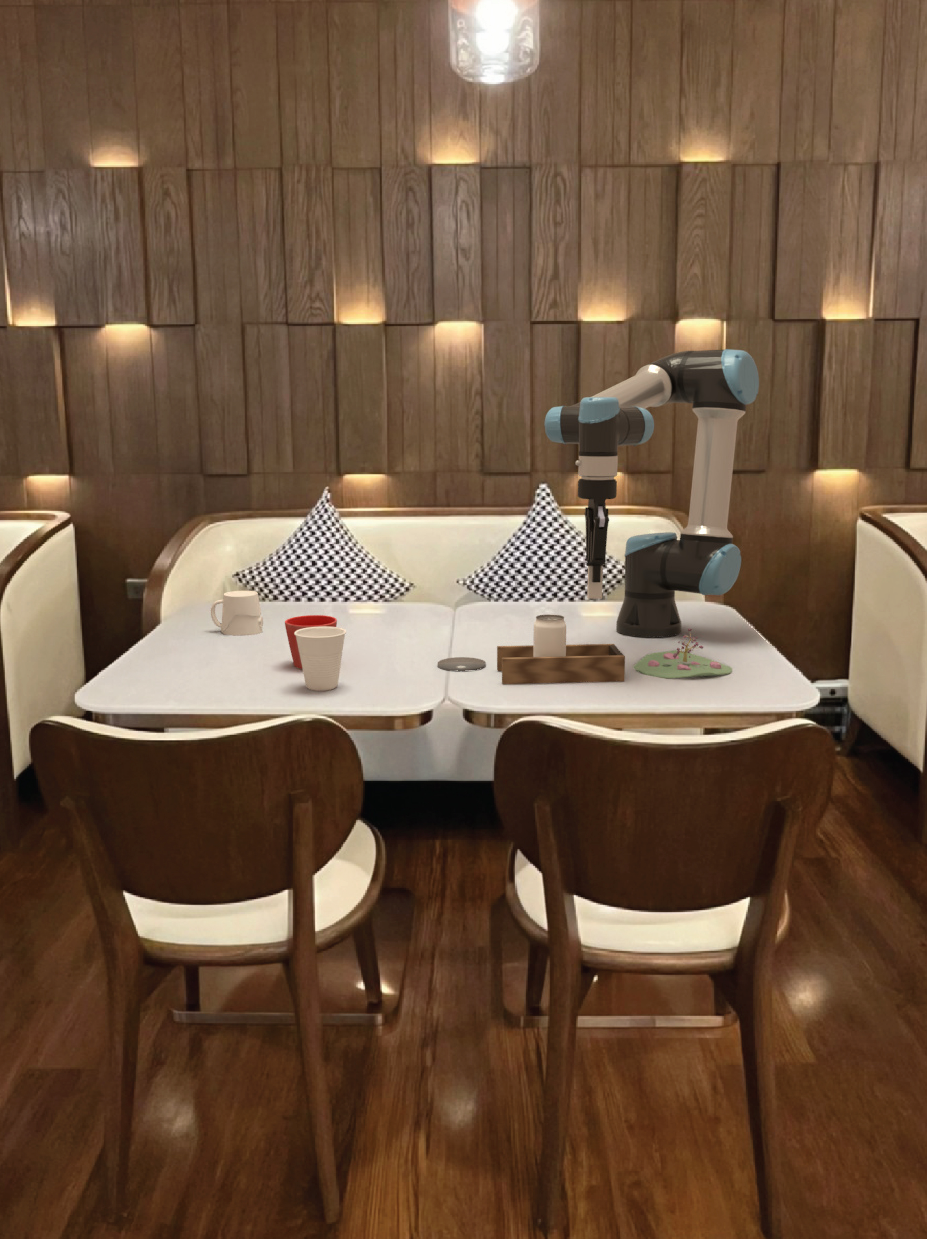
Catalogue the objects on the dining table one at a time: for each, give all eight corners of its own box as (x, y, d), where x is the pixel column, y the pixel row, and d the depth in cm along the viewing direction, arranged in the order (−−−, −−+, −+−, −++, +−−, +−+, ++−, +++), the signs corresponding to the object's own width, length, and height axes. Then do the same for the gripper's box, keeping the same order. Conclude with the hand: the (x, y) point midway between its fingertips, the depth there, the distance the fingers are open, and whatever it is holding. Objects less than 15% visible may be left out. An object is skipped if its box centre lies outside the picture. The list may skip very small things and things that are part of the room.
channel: (613, 667, 236) (613, 643, 235) (624, 681, 225) (624, 656, 224) (497, 669, 235) (497, 646, 234) (502, 684, 224) (502, 659, 223)
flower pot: (297, 674, 233) (295, 627, 231) (279, 663, 242) (277, 617, 240) (345, 668, 237) (344, 622, 236) (327, 657, 247) (325, 612, 245)
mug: (264, 590, 275) (256, 596, 267) (266, 628, 276) (258, 636, 269) (215, 590, 275) (205, 596, 267) (216, 628, 277) (207, 635, 269)
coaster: (483, 659, 244) (483, 656, 244) (487, 670, 234) (487, 668, 234) (436, 660, 243) (436, 657, 243) (438, 671, 234) (438, 669, 233)
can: (563, 680, 226) (564, 620, 224) (531, 679, 228) (531, 619, 225) (567, 672, 232) (568, 614, 230) (535, 671, 234) (536, 613, 231)
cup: (297, 681, 227) (295, 626, 225) (348, 680, 228) (346, 625, 225) (294, 694, 217) (292, 637, 215) (347, 693, 218) (345, 636, 216)
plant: (614, 655, 249) (615, 614, 248) (705, 652, 252) (707, 611, 250) (649, 684, 225) (650, 639, 223) (749, 680, 228) (751, 635, 226)
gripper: (572, 475, 229) (570, 592, 233) (583, 480, 216) (581, 604, 221) (610, 475, 229) (607, 592, 234) (623, 480, 217) (619, 603, 221)
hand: (594, 597), depth 227 cm, fingers closed
